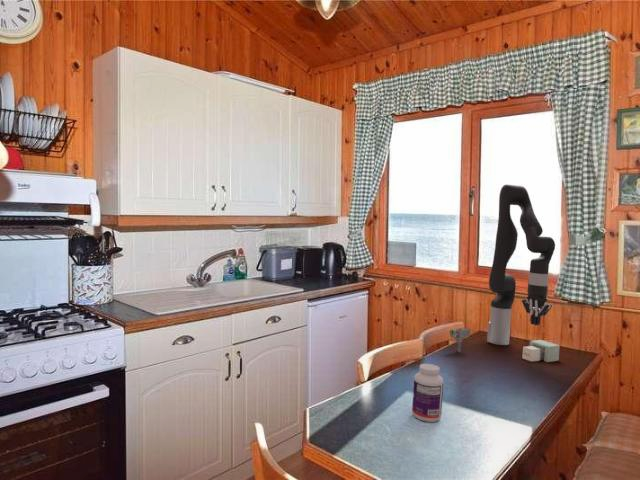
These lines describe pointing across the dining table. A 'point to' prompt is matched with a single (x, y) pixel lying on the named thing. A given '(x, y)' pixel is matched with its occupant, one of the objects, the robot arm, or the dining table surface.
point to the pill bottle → (427, 393)
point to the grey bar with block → (533, 353)
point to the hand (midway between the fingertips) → (534, 324)
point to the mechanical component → (459, 336)
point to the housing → (547, 349)
